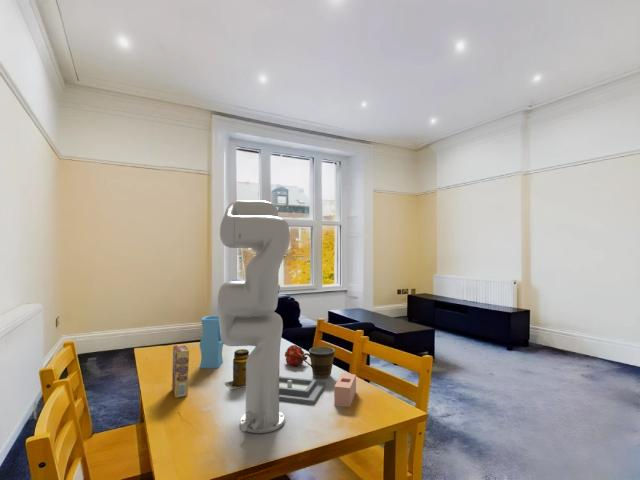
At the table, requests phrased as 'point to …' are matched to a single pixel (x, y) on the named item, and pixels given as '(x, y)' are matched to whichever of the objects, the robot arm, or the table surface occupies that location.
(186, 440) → the table surface
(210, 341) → the vase
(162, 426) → the table surface
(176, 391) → the candy box
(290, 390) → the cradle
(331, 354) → the ceramic cup
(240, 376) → the condiment
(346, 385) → the pink block with hole
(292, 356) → the dragon fruit
